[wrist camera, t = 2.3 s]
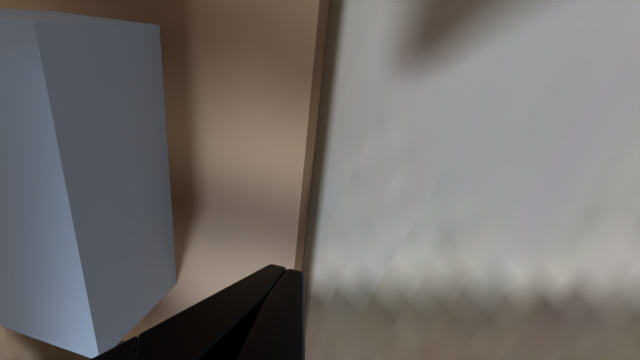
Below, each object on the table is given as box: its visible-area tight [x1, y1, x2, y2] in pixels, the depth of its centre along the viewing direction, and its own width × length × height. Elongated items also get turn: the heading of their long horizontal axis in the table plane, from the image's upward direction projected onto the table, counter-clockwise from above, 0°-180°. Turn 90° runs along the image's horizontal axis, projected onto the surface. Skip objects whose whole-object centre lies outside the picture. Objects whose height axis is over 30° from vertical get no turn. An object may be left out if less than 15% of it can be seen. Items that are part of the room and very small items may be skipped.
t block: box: [0, 8, 177, 359], centre depth 12 cm, size 10×10×4 cm
